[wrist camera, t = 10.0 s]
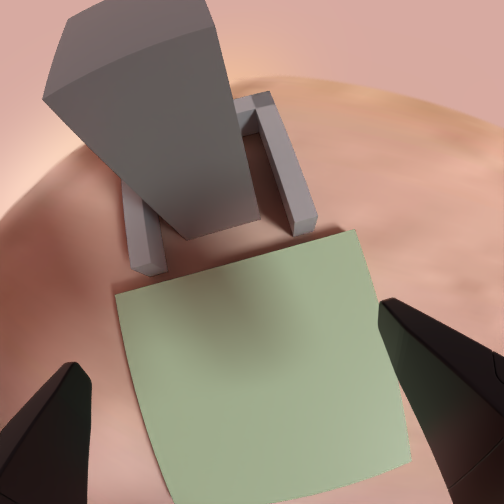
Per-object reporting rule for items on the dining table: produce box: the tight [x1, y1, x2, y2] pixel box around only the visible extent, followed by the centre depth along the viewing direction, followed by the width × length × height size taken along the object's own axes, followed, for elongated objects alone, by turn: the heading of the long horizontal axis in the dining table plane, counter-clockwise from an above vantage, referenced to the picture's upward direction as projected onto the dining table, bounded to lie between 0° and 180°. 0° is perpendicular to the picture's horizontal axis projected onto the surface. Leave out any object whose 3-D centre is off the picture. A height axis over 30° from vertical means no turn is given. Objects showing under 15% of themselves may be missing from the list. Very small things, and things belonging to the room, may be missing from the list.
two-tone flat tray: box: [115, 91, 412, 504], centre depth 16 cm, size 23×14×2 cm, turn 14°
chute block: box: [42, 0, 261, 240], centre depth 12 cm, size 4×4×13 cm
